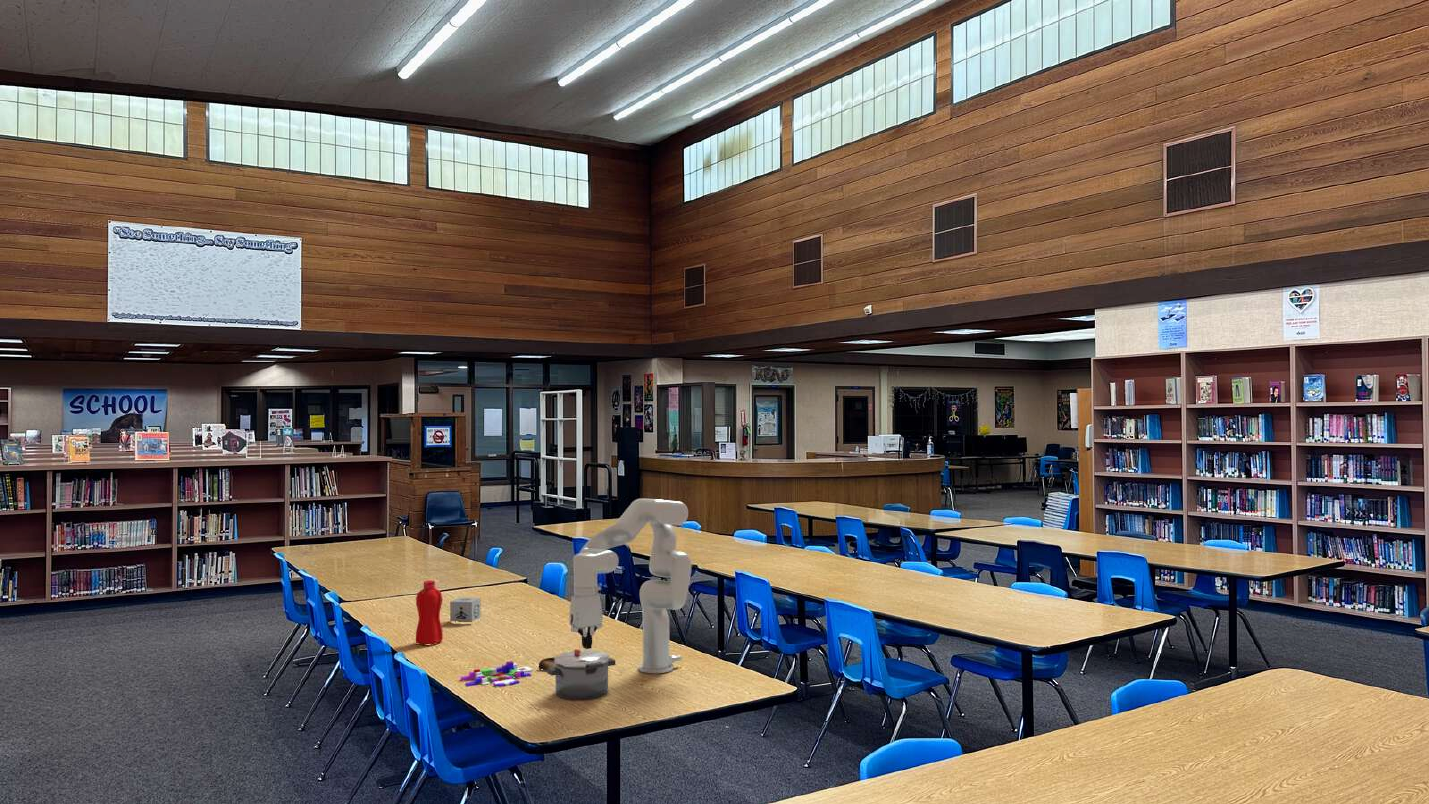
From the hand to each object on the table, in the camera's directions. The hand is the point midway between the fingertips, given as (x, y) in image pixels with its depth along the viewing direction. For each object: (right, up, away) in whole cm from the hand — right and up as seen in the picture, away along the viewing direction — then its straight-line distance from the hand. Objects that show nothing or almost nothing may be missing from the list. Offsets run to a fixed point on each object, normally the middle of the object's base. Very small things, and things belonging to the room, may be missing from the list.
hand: (587, 647), depth 293 cm
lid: (-1, -5, +1) cm, 5 cm away
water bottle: (-74, -18, +70) cm, 104 cm away
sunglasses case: (-13, -17, +35) cm, 41 cm away
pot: (-2, -15, +2) cm, 15 cm away
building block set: (-33, -17, +20) cm, 42 cm away
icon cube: (-70, -19, +110) cm, 132 cm away
